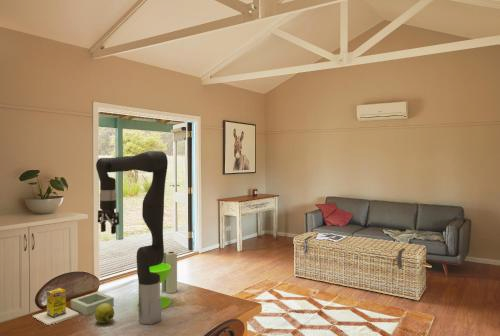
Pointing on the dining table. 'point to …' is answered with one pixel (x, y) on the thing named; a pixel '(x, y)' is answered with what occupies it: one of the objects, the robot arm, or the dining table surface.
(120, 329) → the dining table surface
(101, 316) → the apple
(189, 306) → the dining table surface
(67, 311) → the mat
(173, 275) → the paper towel roll
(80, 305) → the frame
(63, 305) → the supplement box
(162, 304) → the wineglass
